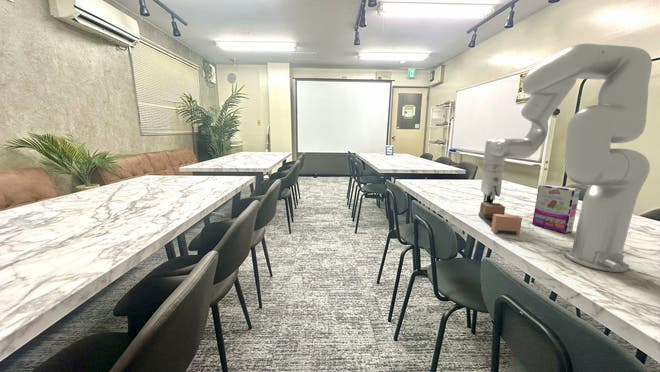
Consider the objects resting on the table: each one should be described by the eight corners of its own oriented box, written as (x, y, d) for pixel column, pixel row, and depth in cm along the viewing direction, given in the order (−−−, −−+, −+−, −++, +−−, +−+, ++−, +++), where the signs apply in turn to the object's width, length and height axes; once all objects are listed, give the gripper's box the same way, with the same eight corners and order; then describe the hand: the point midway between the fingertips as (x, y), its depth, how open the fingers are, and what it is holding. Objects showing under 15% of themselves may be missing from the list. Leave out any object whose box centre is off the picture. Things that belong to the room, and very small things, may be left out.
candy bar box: (572, 232, 95) (581, 188, 92) (565, 234, 93) (574, 190, 90) (538, 222, 105) (545, 183, 102) (531, 224, 103) (538, 184, 100)
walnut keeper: (503, 219, 103) (505, 207, 102) (484, 217, 105) (485, 205, 104) (497, 214, 109) (499, 203, 108) (479, 213, 110) (481, 202, 109)
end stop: (519, 235, 90) (522, 218, 89) (493, 233, 92) (496, 216, 91) (515, 232, 93) (518, 215, 92) (490, 230, 95) (493, 213, 94)
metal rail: (515, 235, 91) (516, 231, 90) (496, 233, 92) (497, 229, 92) (493, 216, 112) (494, 213, 111) (478, 215, 113) (478, 212, 113)
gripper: (510, 171, 100) (503, 216, 104) (496, 167, 114) (490, 206, 118) (488, 170, 102) (482, 214, 106) (477, 166, 116) (472, 205, 120)
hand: (486, 210), depth 112 cm, fingers closed
